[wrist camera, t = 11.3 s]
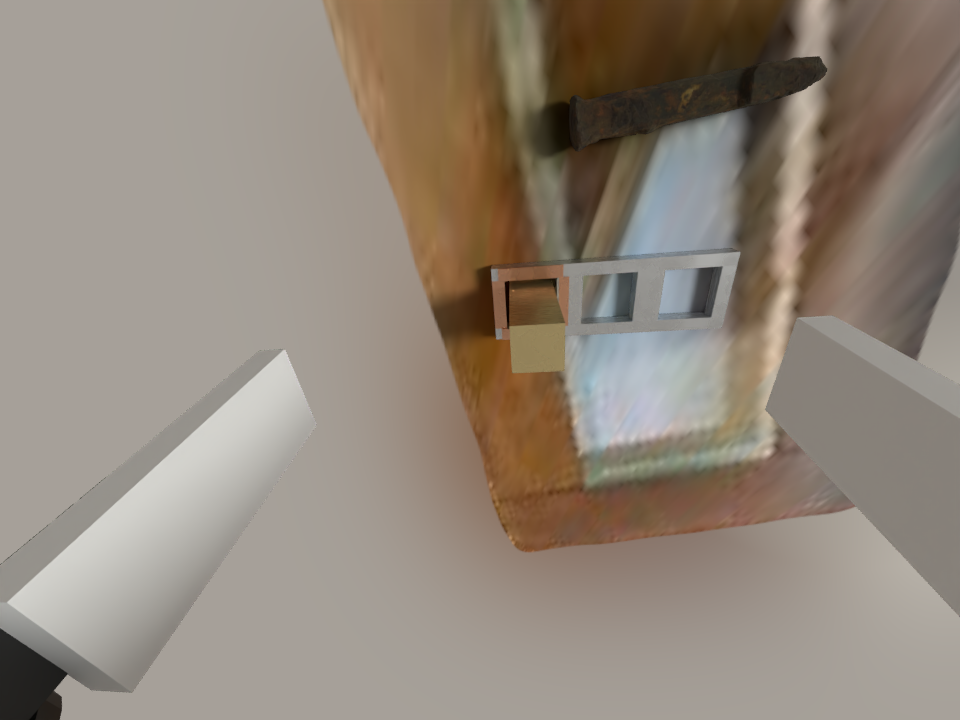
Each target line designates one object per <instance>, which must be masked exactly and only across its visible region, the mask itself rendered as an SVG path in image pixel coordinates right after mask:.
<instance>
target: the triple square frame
mask: <svg viewBox="0 0 960 720" xmlns="http://www.w3.org/2000/svg"><path fill="white" fill-rule="evenodd" d="M739 256H740V251H737V250H735V249H733V248H726V249H712V250H698V251H684V252H670V253H656V254H642V255H627V256H613V257H599V258H585V259H571V260H557V261H543V262H529V263H514V264H500V265H492V266H491V276H492V290H493V303H494V316H495V329H496V339H502V340H508V339H510V327H509V322H507V310H506V293H505V281H518V280H533V279H548V278H555V293H556V296H557V299H558V302H559V305H560V308H561V311H562V315H563V318H564V321H565V336H572V335H592V334H612V333H632V332H652V331H672V330H692V329H712V328H722V324H723V320H724V316H725V312H726V308H727V304H728V300H729V296H730V292H731V288H732V284H733V280H734V276H735V272H736V268H737V264H738V260H739ZM705 267H714V269H713V274H712V279H711V283H710V288H709V292H708V297H707V301H706V306H705V311H704V312H689V313H671V314H659V308H660V301H661V295H662V288H663V282H664V275H665V270H675V269H690V268H705ZM630 272H633V277H632V286H631V295H630V304H629V312H628V316H616V317H597V318H581V310H582V288H583V276H584V275H599V274H614V273H630Z"/></svg>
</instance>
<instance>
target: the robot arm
mask: <svg viewBox="0 0 960 720" xmlns="http://www.w3.org/2000/svg"><path fill="white" fill-rule="evenodd" d="M765 410H766V411H767V412H768V413H769V414H770V415H771V417H772V418H773V419H774V420H775V421H776V422H777V423H778V424H779V425H780V426H781V427H782V428H783V429H784V430H785V431H786V432H787V434H788V435H789V436H790V437H791V438H792V439H793V440H794V441H795V442H796V443H797V444H798V445H799V446H800V447H801V448H802V449H803V451H804V452H805V453H806V454H807V455H808V456H809V457H810V458H811V459H812V460H813V461H814V462H815V463H816V464H817V465H818V467H819V468H820V469H821V470H822V471H823V472H824V473H825V474H826V475H827V476H828V477H829V478H830V479H831V480H832V481H833V482H834V484H835V485H836V486H837V487H838V488H839V489H840V490H841V491H842V492H843V493H844V494H845V495H846V496H847V497H848V498H849V499H850V501H851V502H852V503H853V504H854V505H855V506H856V507H857V508H858V509H859V510H860V511H861V512H862V513H863V514H864V515H865V516H866V518H868V520H869V521H870V522H871V523H872V524H873V525H874V526H875V527H876V528H877V529H878V530H879V531H880V532H881V534H882V535H883V536H884V537H885V538H886V539H887V540H888V541H889V542H890V543H891V544H892V545H893V546H894V547H895V548H896V549H897V550H898V552H900V553H901V555H902V556H903V557H904V558H905V559H906V560H907V561H908V562H909V563H910V564H911V565H912V567H913V568H914V569H915V570H916V571H917V572H918V573H919V574H920V575H921V576H922V577H923V578H924V579H925V580H926V581H927V582H928V584H929V585H930V586H931V587H932V588H933V589H934V590H935V591H936V592H937V593H938V594H939V595H940V596H941V597H942V598H943V599H944V601H945V602H946V603H947V604H948V605H949V606H950V607H951V608H952V609H953V610H954V611H955V612H956V613H957V614H958V615H959V617H960V385H959V384H958V383H955V382H954V381H952V380H950V379H948V378H947V377H945V376H943V375H941V374H939V373H937V372H935V371H934V370H932V369H930V368H928V367H926V366H925V365H923V364H921V363H919V362H917V361H915V360H914V359H912V358H910V357H908V356H906V355H904V354H903V353H901V352H899V351H897V350H895V349H893V348H891V347H890V346H888V345H886V344H884V343H882V342H880V341H879V340H877V339H875V338H873V337H871V336H869V335H868V334H866V333H864V332H862V331H860V330H858V329H857V328H855V327H853V326H851V325H849V324H847V323H846V322H844V321H842V320H840V319H838V318H836V317H835V316H818V317H801V318H797V320H796V323H795V326H794V329H793V332H792V334H791V337H790V340H789V343H788V346H787V349H786V352H785V354H784V357H783V360H782V363H781V366H780V369H779V371H778V374H777V377H776V380H775V383H774V386H773V389H772V391H771V394H770V397H769V400H768V403H767V406H766V409H765ZM316 425H317V424H316V422H315V420H314V417H313V415H312V413H311V410H310V408H309V405H308V403H307V401H306V399H305V396H304V394H303V391H302V389H301V386H300V384H299V382H298V379H297V377H296V375H295V372H294V370H293V368H292V365H291V363H290V360H289V358H288V356H287V353H286V351H285V349H278V350H260V351H258V352H257V353H256V354H255V355H254V356H252V357H251V358H250V359H249V360H247V361H246V362H245V363H244V364H243V365H241V367H239V368H238V369H237V370H235V371H234V372H233V373H232V374H231V375H229V376H228V377H227V378H226V379H224V380H223V381H222V382H221V383H220V384H218V385H217V386H216V387H215V388H214V389H212V390H211V391H210V392H209V393H208V394H206V395H205V396H204V397H203V398H202V399H200V400H199V401H198V402H197V403H196V404H195V405H193V406H192V407H191V408H189V409H188V410H187V411H186V412H185V413H183V414H182V415H181V416H180V417H179V418H177V419H176V420H175V421H174V422H173V423H171V424H170V425H169V426H168V427H167V428H165V429H164V430H163V431H162V432H160V433H159V434H158V435H157V436H156V437H154V438H153V439H152V440H151V441H150V442H148V443H147V444H146V445H145V446H143V447H142V448H141V449H140V450H139V451H137V452H136V453H135V454H134V455H133V456H131V458H129V459H128V460H127V461H126V462H124V463H123V464H122V465H121V466H119V467H118V468H117V469H116V470H115V471H113V472H112V473H111V474H110V475H108V476H107V477H106V478H104V479H103V480H102V481H101V482H99V484H97V485H96V486H95V487H93V488H92V489H91V490H90V491H89V492H87V493H86V494H85V495H84V496H83V497H81V498H80V499H79V500H78V501H77V502H76V503H75V504H73V505H72V506H70V507H69V508H68V509H67V510H66V511H64V512H63V513H62V514H61V515H60V516H58V517H57V518H56V520H54V521H53V522H52V523H50V524H49V525H47V526H46V527H45V528H44V529H43V530H42V531H40V532H39V533H38V534H37V535H35V536H34V537H33V538H32V539H30V540H29V541H28V542H27V543H26V544H25V545H23V546H22V547H21V548H20V549H18V550H17V551H16V552H15V553H14V554H12V555H11V556H10V557H9V558H7V559H6V560H5V561H4V562H3V563H1V564H0V720H60V716H61V711H62V697H61V696H60V695H59V694H57V693H56V692H55V691H54V689H55V688H56V687H57V686H58V685H59V684H60V682H61V681H62V680H63V679H64V678H65V676H66V675H67V674H68V675H69V676H71V677H72V678H74V679H75V680H77V681H78V682H80V683H81V684H83V685H84V686H86V687H87V688H89V689H90V690H96V691H114V692H129V693H132V692H133V691H134V689H135V688H136V686H137V685H138V684H139V682H140V681H141V679H142V678H143V676H144V675H145V673H146V672H147V671H148V669H149V668H150V666H151V665H152V663H153V661H154V660H155V659H156V657H157V656H158V655H159V653H160V651H161V650H162V649H163V647H164V646H165V644H166V643H167V641H168V640H169V639H170V637H171V636H172V634H173V633H174V631H175V630H176V628H177V627H178V625H179V624H180V623H181V621H182V620H183V618H184V617H185V615H186V614H187V613H188V611H189V610H190V608H191V607H192V605H193V604H194V602H195V601H196V599H197V598H198V596H199V595H200V594H201V592H202V591H203V589H204V588H205V586H206V585H207V584H208V582H209V580H210V579H211V578H212V576H213V575H214V573H215V572H216V570H217V569H218V567H219V566H220V565H221V563H222V562H223V560H224V559H225V557H226V556H227V555H228V553H229V552H230V550H231V549H232V547H233V546H234V544H235V543H236V541H237V540H238V539H239V537H240V536H241V534H242V532H243V531H244V530H245V528H246V527H247V525H248V524H249V523H250V521H251V520H252V518H253V517H254V515H255V514H256V512H257V511H258V509H259V508H260V507H261V505H262V504H263V502H264V501H265V499H266V498H267V497H268V495H269V493H270V492H271V491H272V489H273V488H274V486H275V485H276V483H277V482H278V480H279V479H280V478H281V476H282V475H283V473H284V472H285V470H286V469H287V468H288V466H289V465H290V463H291V462H292V460H293V459H294V457H295V456H296V454H297V453H298V452H299V450H300V449H301V447H302V446H303V444H304V443H305V441H306V440H307V438H308V437H309V435H310V434H311V433H312V431H313V430H314V428H315V427H316Z"/></svg>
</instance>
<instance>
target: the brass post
mask: <svg viewBox="0 0 960 720" xmlns="http://www.w3.org/2000/svg"><path fill="white" fill-rule="evenodd" d="M509 327H510V344H511V362H512V373H526V372H550V371H564V360H565V321H564V318H563V315H562V311H561V308H560V305H559V302H558V299H557V296H556V293H555V290H554V287H553V284H552V281H551V278H548V279H533V280H518V281H509Z"/></svg>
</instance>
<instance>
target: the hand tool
mask: <svg viewBox="0 0 960 720" xmlns="http://www.w3.org/2000/svg"><path fill="white" fill-rule="evenodd" d="M826 72H827V68H826V67H825V65H824V64H823V63H822V60H821V58H820V57H804V58H792V59H790V60H788V61H778V62H763V63H759V64H756V65H753V66H751V67H746V68H739V69H734V70H730V71H725V72H720V73H716V74H711V75H704V76H699V77H693V78H686V79H681V80H677V81H673V82H666V83H662V84H658V85H653V86H647V87H642V88H636V89H632V90H628V91H622V92H617V93H611V94H607V95H604V96H601V97H597V98H593V99H588V100H583V99H582V98H581V97H579V96H577V95H574V96H573V97H572V98H571V100H570V108H569V128H570V141H571V142H572V146H573V148H574V149H575V151H580V150H582V149H583V148H584V147H586V146H587V145H588V144H591V143H596V142H597V141H599V140H600V139H608V138H613V137H623V136H627V135H636V134H637V133H638V134H648V133H651V132H652V131H654V130H655V129H657V128H658V127H660V126H665V125H670V124H673V123H677V122H681V121H685V120H690V119H694V118H699V117H703V116H708V115H712V114H716V113H721V112H727V111H731V110H735V109H739V108H744V107H747V106H752V105H758V104H762V103H766V102H769V101H773V100H776V99H779V98H782V97H785V96H788V95H791V94H794V93H796V92H799V91H802V90H804V89H806V88H807V87H808V86H811V85H812V84H813V83H815V82H817V81H819V80H821V79H822V78H823V77H824V76H825V74H826Z"/></svg>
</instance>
